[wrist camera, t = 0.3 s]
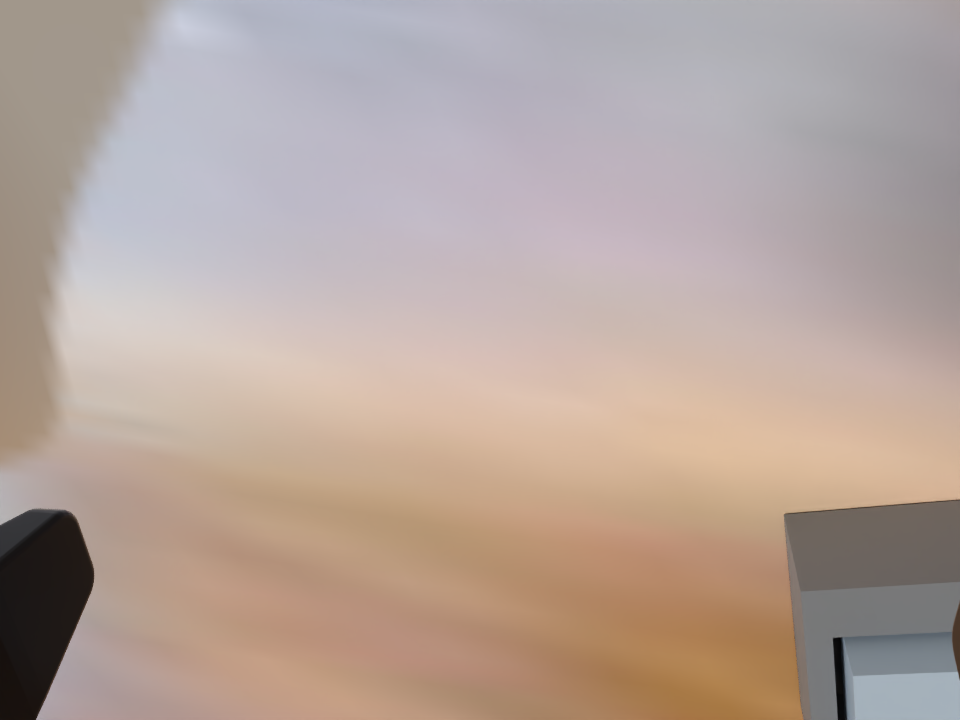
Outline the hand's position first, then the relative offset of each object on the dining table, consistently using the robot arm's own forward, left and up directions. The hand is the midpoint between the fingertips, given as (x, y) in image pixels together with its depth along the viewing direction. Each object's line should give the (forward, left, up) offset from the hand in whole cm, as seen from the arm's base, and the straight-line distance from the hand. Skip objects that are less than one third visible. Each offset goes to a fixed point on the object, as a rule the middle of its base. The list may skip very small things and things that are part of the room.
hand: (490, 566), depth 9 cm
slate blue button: (-16, -7, -12) cm, 21 cm away
